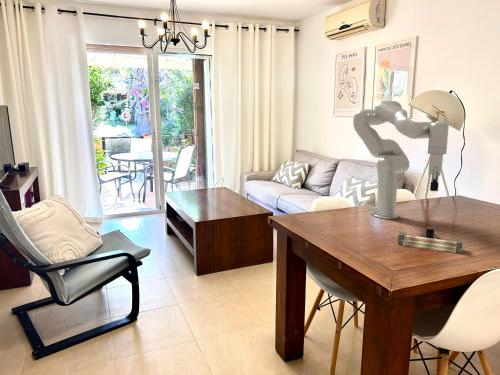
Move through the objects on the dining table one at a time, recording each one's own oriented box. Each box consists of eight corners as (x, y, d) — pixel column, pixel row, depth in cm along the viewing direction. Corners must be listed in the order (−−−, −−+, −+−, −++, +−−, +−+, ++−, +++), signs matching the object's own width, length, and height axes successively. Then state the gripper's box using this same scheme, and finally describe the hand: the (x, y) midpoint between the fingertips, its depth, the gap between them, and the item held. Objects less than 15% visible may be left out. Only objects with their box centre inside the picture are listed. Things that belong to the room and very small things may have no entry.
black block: (438, 244, 156) (439, 233, 155) (419, 241, 160) (419, 231, 159) (439, 235, 167) (440, 225, 166) (421, 233, 170) (422, 223, 169)
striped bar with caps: (397, 244, 154) (398, 235, 153) (399, 240, 159) (399, 231, 158) (461, 254, 143) (462, 244, 142) (461, 249, 148) (462, 239, 147)
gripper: (428, 148, 176) (426, 187, 179) (426, 151, 163) (423, 193, 166) (446, 149, 172) (443, 188, 176) (446, 152, 159) (442, 194, 163)
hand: (433, 190), depth 171 cm, fingers closed
